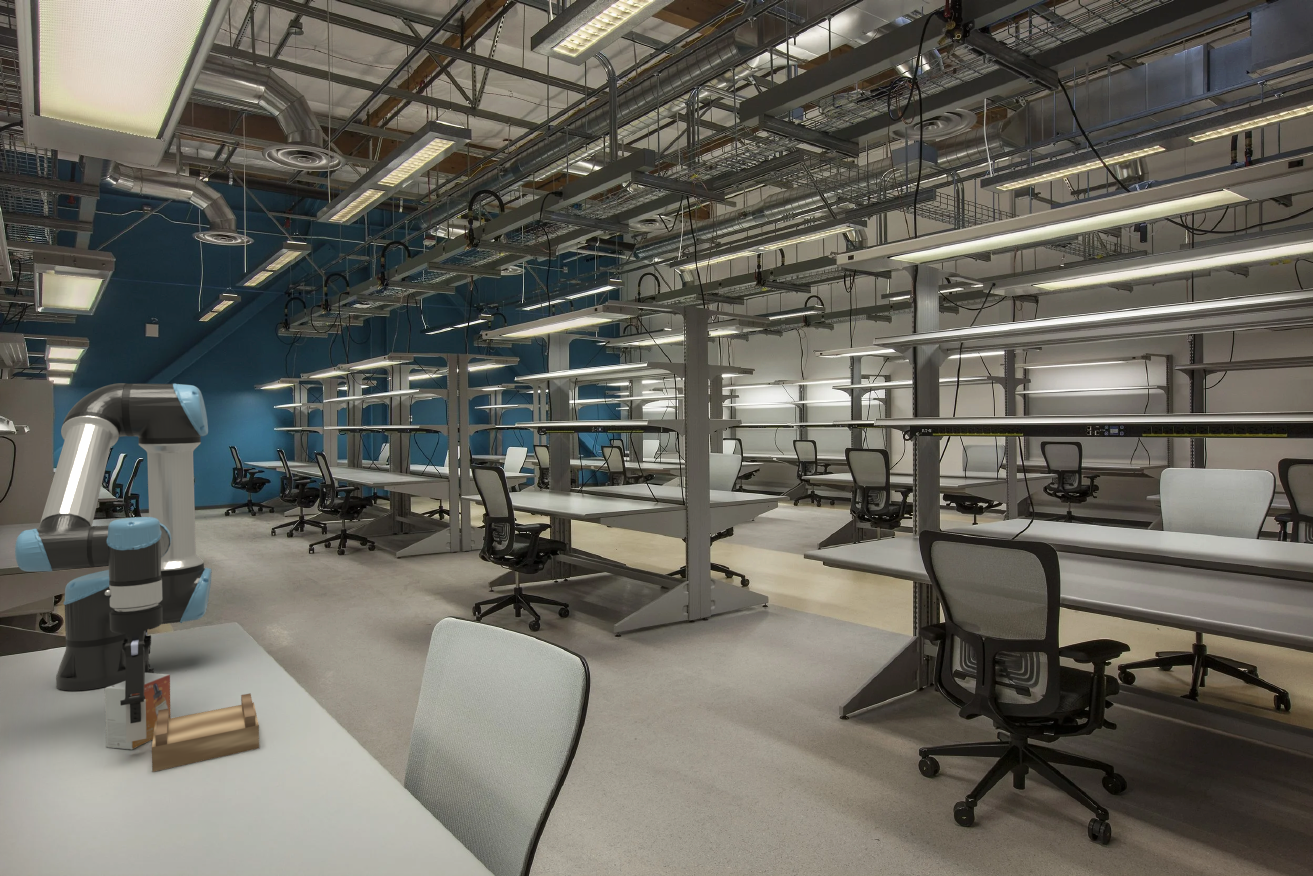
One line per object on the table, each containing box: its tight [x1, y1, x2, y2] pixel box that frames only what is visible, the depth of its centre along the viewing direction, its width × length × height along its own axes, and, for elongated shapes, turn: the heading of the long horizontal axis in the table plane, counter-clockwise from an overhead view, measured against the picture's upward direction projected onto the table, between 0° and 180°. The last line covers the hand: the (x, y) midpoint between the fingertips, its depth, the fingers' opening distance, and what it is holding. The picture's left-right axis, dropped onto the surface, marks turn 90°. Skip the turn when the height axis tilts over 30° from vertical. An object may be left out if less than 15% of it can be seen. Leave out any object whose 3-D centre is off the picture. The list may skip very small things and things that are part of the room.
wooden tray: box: [151, 693, 260, 773], centre depth 124 cm, size 12×15×6 cm
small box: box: [104, 672, 172, 750], centre depth 127 cm, size 8×6×10 cm
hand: (139, 726), depth 127 cm, fingers open, 13 cm apart
